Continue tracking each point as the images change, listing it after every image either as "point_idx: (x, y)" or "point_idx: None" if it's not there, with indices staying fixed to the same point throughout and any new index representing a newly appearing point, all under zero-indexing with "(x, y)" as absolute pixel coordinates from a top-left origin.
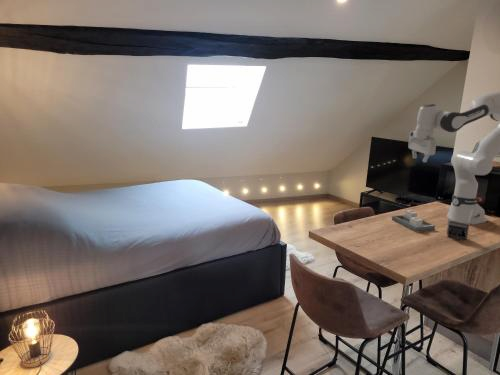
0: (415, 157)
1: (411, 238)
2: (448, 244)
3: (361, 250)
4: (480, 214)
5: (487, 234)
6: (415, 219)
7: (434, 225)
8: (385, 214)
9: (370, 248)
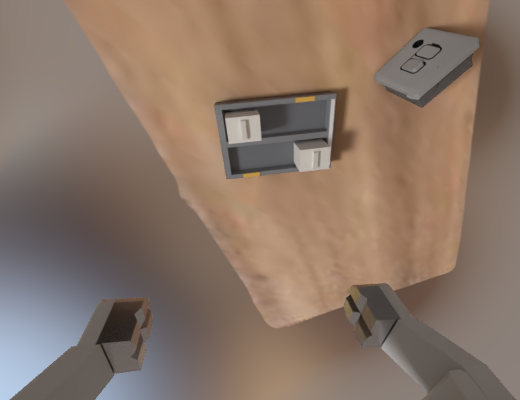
0: (142, 321)
1: (355, 194)
2: (420, 128)
3: None
4: None
5: None
6: (319, 165)
7: (334, 95)
8: (173, 166)
9: (363, 279)
